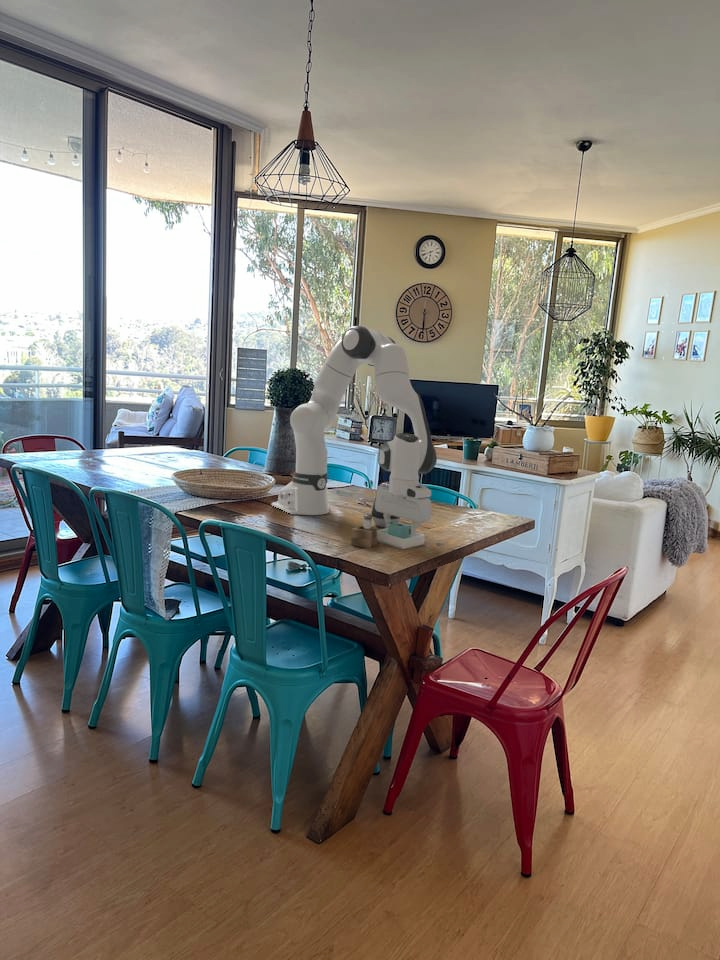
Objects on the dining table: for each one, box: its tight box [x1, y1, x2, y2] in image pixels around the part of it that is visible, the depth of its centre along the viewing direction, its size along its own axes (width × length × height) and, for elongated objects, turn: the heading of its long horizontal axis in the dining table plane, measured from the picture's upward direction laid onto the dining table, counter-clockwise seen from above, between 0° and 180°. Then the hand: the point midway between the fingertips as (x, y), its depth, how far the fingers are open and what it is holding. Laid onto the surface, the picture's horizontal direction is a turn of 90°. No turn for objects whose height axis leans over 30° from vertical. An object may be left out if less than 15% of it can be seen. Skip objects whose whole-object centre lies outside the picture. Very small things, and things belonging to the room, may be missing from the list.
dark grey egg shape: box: [370, 481, 401, 529], centre depth 234 cm, size 10×10×15 cm
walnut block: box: [350, 524, 379, 549], centre depth 211 cm, size 6×6×5 cm
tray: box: [377, 528, 426, 550], centre depth 215 cm, size 12×10×3 cm
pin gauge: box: [363, 513, 373, 530], centre depth 211 cm, size 2×2×9 cm
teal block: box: [388, 521, 413, 539], centre depth 215 cm, size 5×5×5 cm
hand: (400, 531), depth 215 cm, fingers open, 8 cm apart
